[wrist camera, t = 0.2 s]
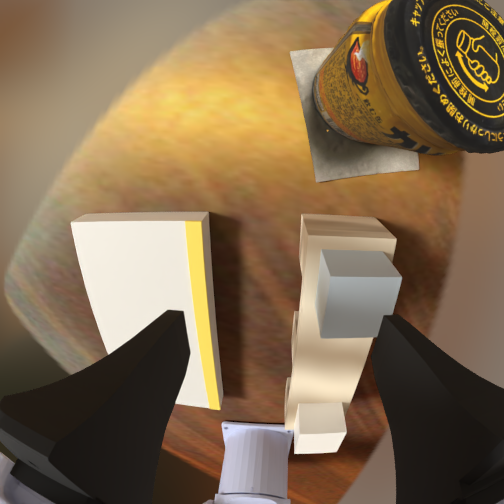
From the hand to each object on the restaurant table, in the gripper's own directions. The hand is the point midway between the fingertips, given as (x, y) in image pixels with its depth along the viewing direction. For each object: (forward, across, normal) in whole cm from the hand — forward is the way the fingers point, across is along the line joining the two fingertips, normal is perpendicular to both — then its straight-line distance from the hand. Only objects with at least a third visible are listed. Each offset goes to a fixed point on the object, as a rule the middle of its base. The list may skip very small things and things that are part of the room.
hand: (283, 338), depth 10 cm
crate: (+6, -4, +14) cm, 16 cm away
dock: (+10, +10, +7) cm, 16 cm away
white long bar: (+10, -4, +7) cm, 13 cm away
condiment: (+10, -5, -9) cm, 14 cm away
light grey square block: (+6, -4, +1) cm, 7 cm away
